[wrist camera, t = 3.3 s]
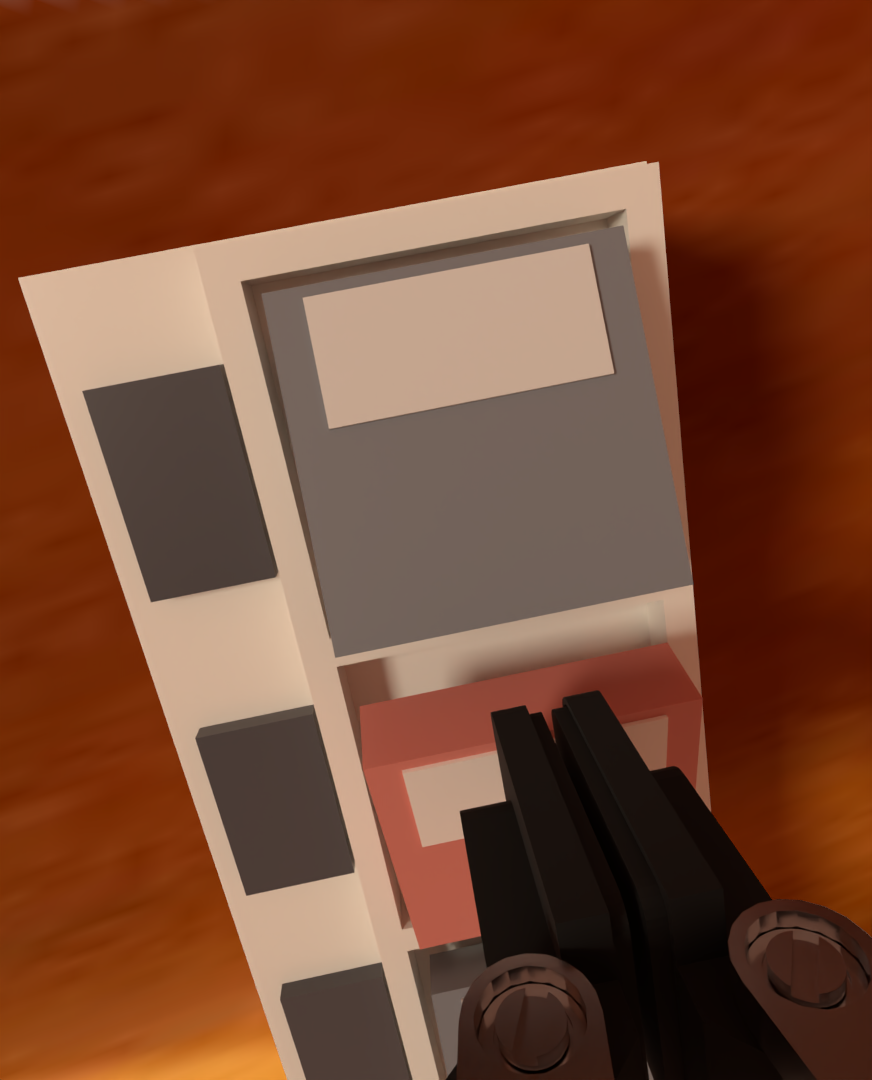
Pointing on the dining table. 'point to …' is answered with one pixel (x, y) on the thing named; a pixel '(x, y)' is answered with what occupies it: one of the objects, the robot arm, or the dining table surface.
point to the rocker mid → (473, 767)
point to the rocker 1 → (477, 440)
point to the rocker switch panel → (308, 585)
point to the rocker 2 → (455, 993)
